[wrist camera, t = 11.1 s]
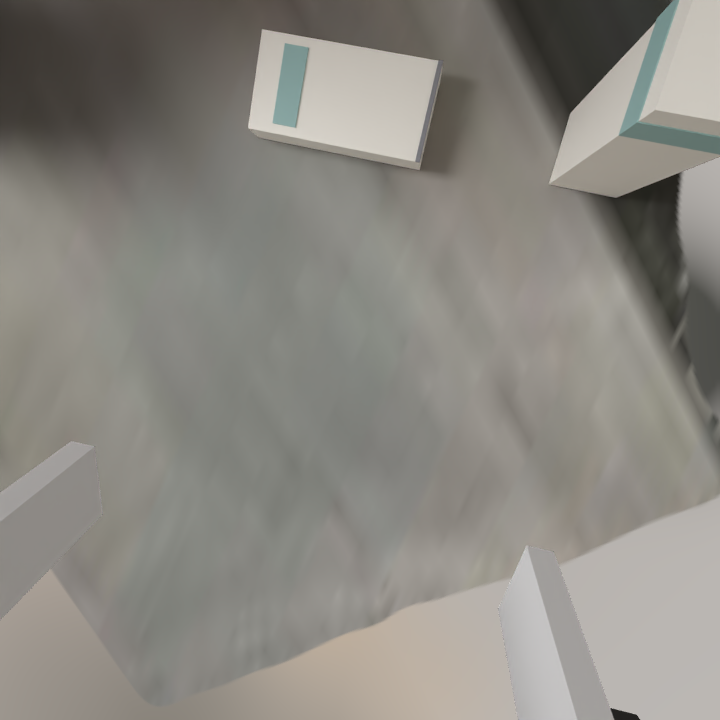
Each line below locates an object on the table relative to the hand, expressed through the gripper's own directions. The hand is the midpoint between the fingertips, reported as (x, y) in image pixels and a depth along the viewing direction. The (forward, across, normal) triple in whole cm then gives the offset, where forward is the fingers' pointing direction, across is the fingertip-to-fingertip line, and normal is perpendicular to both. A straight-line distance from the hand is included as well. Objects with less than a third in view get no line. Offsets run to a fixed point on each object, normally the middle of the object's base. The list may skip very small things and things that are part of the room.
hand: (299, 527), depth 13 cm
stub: (+23, +12, +14) cm, 30 cm away
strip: (+24, -5, +14) cm, 28 cm away
